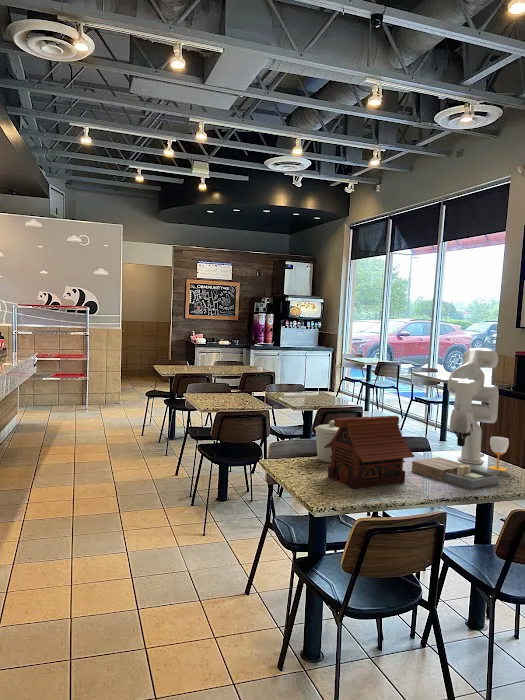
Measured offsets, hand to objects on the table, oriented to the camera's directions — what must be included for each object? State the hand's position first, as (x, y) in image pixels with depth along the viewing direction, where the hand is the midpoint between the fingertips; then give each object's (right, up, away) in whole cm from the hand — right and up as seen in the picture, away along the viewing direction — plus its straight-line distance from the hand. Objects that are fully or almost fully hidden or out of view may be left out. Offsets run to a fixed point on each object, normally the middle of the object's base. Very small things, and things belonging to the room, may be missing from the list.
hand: (460, 445), depth 246 cm
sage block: (+4, -12, -6) cm, 14 cm away
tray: (+2, -16, -5) cm, 17 cm away
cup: (+28, -16, +23) cm, 40 cm away
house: (-48, -14, -9) cm, 51 cm away
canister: (-59, -12, +24) cm, 64 cm away
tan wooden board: (-7, -15, +9) cm, 19 cm away
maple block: (0, -12, -1) cm, 12 cm away
